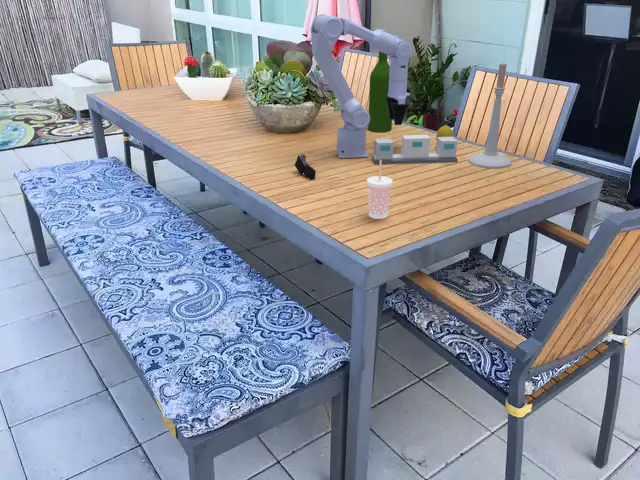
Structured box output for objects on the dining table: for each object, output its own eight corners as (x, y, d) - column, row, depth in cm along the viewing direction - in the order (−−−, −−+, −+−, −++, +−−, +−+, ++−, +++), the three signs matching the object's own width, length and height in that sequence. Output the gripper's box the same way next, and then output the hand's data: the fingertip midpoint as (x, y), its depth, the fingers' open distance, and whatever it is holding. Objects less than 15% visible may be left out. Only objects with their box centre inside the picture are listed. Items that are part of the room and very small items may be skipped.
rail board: (375, 164, 166) (376, 143, 163) (372, 158, 171) (372, 138, 168) (457, 161, 167) (459, 141, 165) (451, 156, 173) (453, 136, 170)
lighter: (313, 185, 157) (319, 172, 152) (307, 186, 156) (313, 174, 151) (300, 163, 160) (305, 150, 156) (294, 164, 159) (299, 151, 155)
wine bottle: (396, 130, 203) (401, 39, 188) (378, 133, 198) (382, 40, 184) (381, 125, 209) (385, 37, 195) (363, 128, 205) (366, 38, 191)
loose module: (428, 157, 167) (430, 138, 164) (403, 157, 166) (404, 139, 164) (425, 153, 171) (427, 134, 168) (400, 153, 170) (402, 135, 167)
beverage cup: (368, 209, 134) (370, 155, 128) (392, 211, 132) (395, 157, 126) (363, 218, 129) (364, 162, 122) (388, 221, 127) (391, 164, 121)
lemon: (452, 151, 178) (454, 127, 174) (435, 150, 179) (437, 126, 175) (451, 146, 183) (454, 123, 179) (435, 145, 184) (437, 122, 180)
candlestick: (478, 169, 161) (492, 66, 147) (462, 157, 172) (473, 59, 159) (518, 167, 162) (535, 64, 149) (499, 155, 174) (513, 58, 161)
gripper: (415, 83, 163) (412, 127, 169) (405, 75, 176) (402, 116, 182) (393, 83, 163) (390, 127, 169) (384, 75, 176) (382, 117, 182)
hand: (395, 122), depth 176 cm, fingers open, 7 cm apart
